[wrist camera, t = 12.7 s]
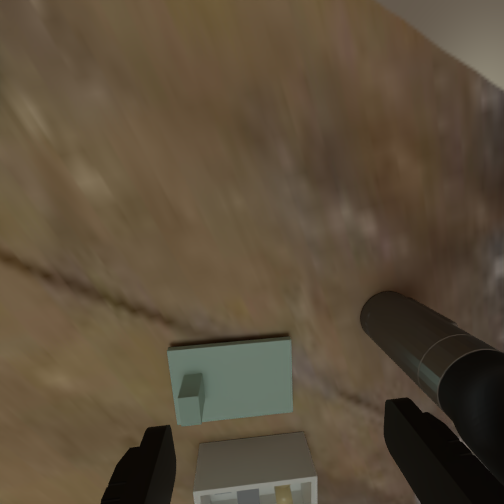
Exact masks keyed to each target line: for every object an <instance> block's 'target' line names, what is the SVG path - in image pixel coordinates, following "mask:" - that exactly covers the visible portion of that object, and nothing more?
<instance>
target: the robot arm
mask: <svg viewBox="0 0 504 504" xmlns="http://www.w3.org/2000/svg"><path fill="white" fill-rule="evenodd" d="M361 325H362V328H363V330H364V331H365V333H366V334H367V335H368V336H369V337H370V338H371V339H372V340H373V341H374V342H375V343H376V344H377V345H378V346H379V347H380V348H381V349H382V350H383V351H384V352H385V353H386V354H387V355H388V356H389V357H390V358H391V359H392V360H393V361H394V362H395V363H396V364H397V365H398V366H399V367H400V368H401V369H402V370H403V371H404V372H405V373H406V374H407V375H408V376H409V377H410V378H411V379H412V380H413V381H414V382H415V383H416V384H417V385H418V387H419V388H420V389H421V390H422V391H423V392H424V393H426V394H427V396H428V397H429V398H430V399H431V400H432V401H433V402H434V403H435V404H436V405H437V406H438V407H439V408H440V409H441V410H442V411H443V412H444V413H445V414H446V415H447V416H448V417H449V418H450V419H451V420H452V421H453V423H454V425H455V427H456V429H457V431H458V433H459V435H460V436H461V438H462V439H463V441H464V442H465V443H466V445H467V446H468V447H469V448H470V449H471V450H472V451H473V453H474V454H475V455H476V456H477V457H478V458H479V459H480V460H481V462H482V463H483V464H484V465H485V466H486V467H487V468H488V469H487V468H486V467H485V466H484V465H483V464H482V463H481V462H480V461H479V459H478V458H477V457H476V456H475V455H472V453H471V451H470V450H469V449H468V448H467V447H466V446H465V445H464V443H463V442H460V440H459V438H458V437H457V436H456V435H455V434H454V433H453V432H452V431H451V430H450V429H449V428H448V426H447V425H446V424H445V423H443V422H442V421H440V420H439V419H437V418H436V417H434V416H433V415H431V414H430V413H429V412H424V413H422V411H421V410H420V409H419V408H418V407H417V406H416V405H415V403H414V402H413V401H412V400H411V399H409V398H398V399H390V400H386V402H385V416H384V438H385V442H386V445H387V448H388V450H389V452H390V454H391V455H392V457H393V459H394V460H395V462H396V464H397V465H398V467H399V468H400V470H401V472H402V473H403V475H404V477H405V478H406V480H407V481H408V483H409V485H410V486H411V488H412V490H413V491H414V493H415V494H416V496H417V498H418V499H419V501H420V503H421V504H504V353H502V352H500V351H499V350H497V349H495V348H493V347H492V346H490V345H488V344H486V343H485V342H483V341H481V340H479V339H478V338H476V337H474V336H472V335H471V334H469V333H467V332H465V331H464V330H462V329H460V328H458V325H457V324H456V323H455V322H454V321H452V320H450V319H448V318H446V317H445V316H443V315H441V314H439V313H437V312H436V311H434V310H432V309H430V308H428V307H427V306H425V305H423V304H421V303H419V302H418V301H416V300H414V299H412V298H406V297H404V296H403V295H401V294H399V293H396V292H383V293H379V294H377V295H375V296H374V297H372V298H371V299H370V300H369V301H368V302H367V303H366V304H365V306H364V308H363V310H362V313H361ZM175 475H176V455H175V449H174V443H173V437H172V431H171V427H170V425H165V426H156V427H148V428H147V429H146V431H145V433H144V436H143V439H142V441H141V444H140V447H133V448H129V450H128V451H127V452H126V453H125V455H124V456H123V457H122V459H121V460H120V461H119V462H118V464H117V465H116V467H115V470H114V472H113V474H112V477H111V479H110V481H109V483H108V484H109V485H108V487H107V488H106V490H105V493H104V495H103V497H102V499H101V504H170V501H171V496H172V492H173V487H174V482H175Z"/></svg>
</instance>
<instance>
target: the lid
mask: <svg viewBox="0 0 504 504" xmlns="http://www.w3.org/2000/svg"><path fill="white" fill-rule="evenodd" d="M167 355H168V362H169V369H170V376H171V383H172V390H173V397H174V404H175V411H176V418H177V425H180V424H181V426H190V425H199V424H202V422H207V421H216V420H225V419H234V418H243V417H252V416H261V415H270V414H279V413H288V412H293V398H292V357H291V338H290V336H289V337H278V338H267V339H257V340H246V341H235V342H224V343H213V344H202V345H191V346H180V347H169V348H168V350H167Z"/></svg>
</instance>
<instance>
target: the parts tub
mask: <svg viewBox="0 0 504 504" xmlns="http://www.w3.org/2000/svg"><path fill="white" fill-rule="evenodd" d="M193 495H194V502H195V504H317V474H316V470H315V467H314V464H313V460H312V457H311V454H310V451H309V447H308V444H307V441H306V437H305V434H304V432H296V433H287V434H279V435H270V436H261V437H253V438H244V439H235V440H227V441H218V442H209V443H201V444H200V445H199V452H198V459H197V467H196V474H195V481H194V489H193Z"/></svg>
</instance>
